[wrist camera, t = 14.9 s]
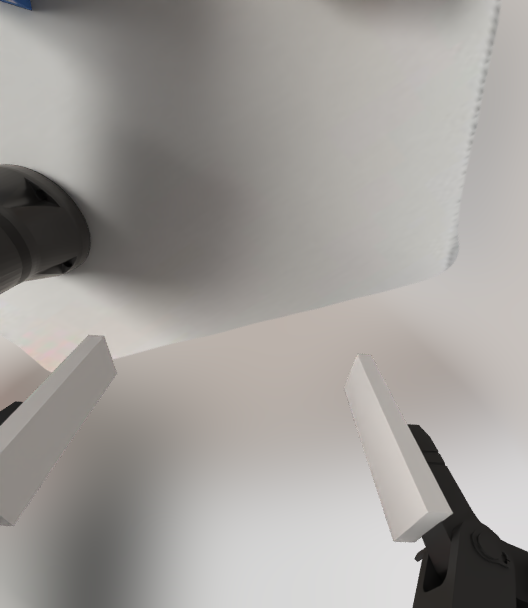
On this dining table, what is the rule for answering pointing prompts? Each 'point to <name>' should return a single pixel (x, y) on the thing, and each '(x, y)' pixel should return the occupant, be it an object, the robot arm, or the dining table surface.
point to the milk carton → (19, 3)
